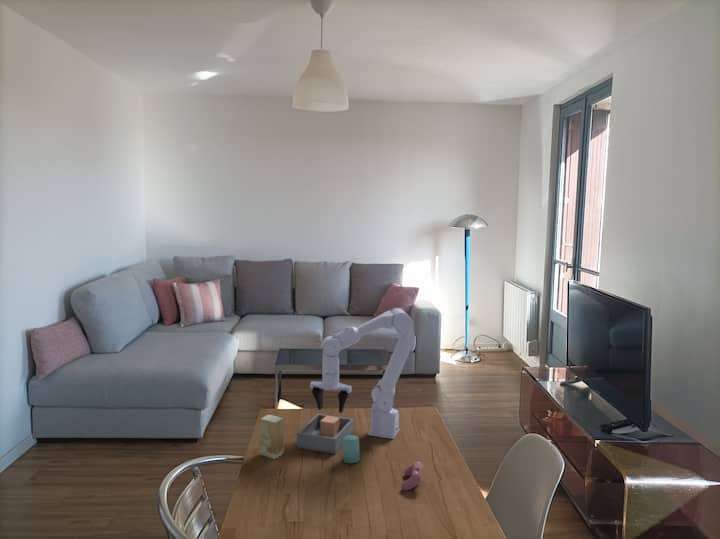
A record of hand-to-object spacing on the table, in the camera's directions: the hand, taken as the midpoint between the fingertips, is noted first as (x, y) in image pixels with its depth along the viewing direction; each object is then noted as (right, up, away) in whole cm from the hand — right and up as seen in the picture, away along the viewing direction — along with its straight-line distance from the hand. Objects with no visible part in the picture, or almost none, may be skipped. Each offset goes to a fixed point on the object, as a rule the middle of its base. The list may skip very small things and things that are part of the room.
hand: (330, 410), depth 190 cm
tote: (-1, -9, -3) cm, 10 cm away
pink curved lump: (+25, -14, -31) cm, 42 cm away
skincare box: (-18, -11, -14) cm, 25 cm away
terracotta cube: (0, -8, +1) cm, 8 cm away
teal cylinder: (+7, -11, -17) cm, 22 cm away
